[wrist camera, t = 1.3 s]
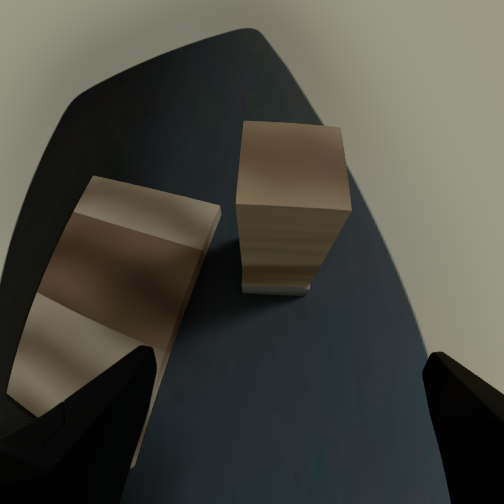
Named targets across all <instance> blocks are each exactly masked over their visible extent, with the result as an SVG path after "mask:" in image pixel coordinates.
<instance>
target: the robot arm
mask: <svg viewBox="0 0 504 504" xmlns="http://www.w3.org/2000/svg"><path fill="white" fill-rule="evenodd" d="M156 374H157V362H156V358H155V353H154V349H153V347H151V346H146V345H139V346H138V347H136V348H135V349H134V350H132V351H131V352H130V353H128V354H127V355H125V356H124V357H123V358H121V359H120V360H119V361H117V362H116V363H114V364H113V365H112V366H110V367H109V368H108V369H106V370H105V371H103V372H102V373H101V374H99V375H98V376H97V377H95V378H94V379H92V380H91V381H90V382H88V383H87V384H86V385H84V386H83V387H81V388H80V389H79V390H77V391H76V392H74V393H73V394H72V395H70V396H69V397H68V398H66V399H65V400H64V402H63V401H62V402H60V403H59V404H58V405H56V406H55V407H53V408H52V409H51V410H49V411H48V412H46V413H45V414H43V415H42V416H40V417H38V418H37V419H35V420H33V421H31V422H30V423H28V424H26V425H24V426H23V427H21V428H19V429H17V430H15V431H14V432H12V433H10V434H8V435H6V436H4V437H2V438H0V504H119V503H120V499H121V496H122V493H123V489H124V486H125V483H126V480H127V476H128V473H129V470H130V467H131V464H132V460H133V457H134V454H135V451H136V448H137V445H138V442H139V439H140V436H141V433H142V430H143V427H144V424H145V421H146V418H147V415H148V411H149V407H150V402H151V397H152V393H153V388H154V383H155V379H156ZM422 377H423V382H424V387H425V392H426V397H427V402H428V408H429V412H430V416H431V420H432V424H433V427H434V431H435V435H436V438H437V442H438V446H439V450H440V454H441V458H442V462H443V467H444V471H445V476H446V481H447V485H448V490H449V496H450V501H451V504H504V394H502V393H501V392H499V391H498V390H497V389H495V388H494V387H492V386H491V385H490V384H488V383H487V382H485V381H484V380H482V379H481V378H480V377H478V376H477V375H475V374H474V373H472V372H471V371H470V370H468V369H467V368H465V367H464V366H462V365H461V364H460V363H458V362H457V361H455V360H454V359H452V358H451V357H449V356H448V355H447V354H445V353H444V352H433V353H431V354H430V356H429V358H428V360H427V362H426V365H425V367H424V369H423V373H422Z"/></svg>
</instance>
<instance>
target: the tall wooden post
mask: <svg viewBox="0 0 504 504" xmlns="http://www.w3.org/2000/svg"><path fill="white" fill-rule="evenodd" d="M236 211H237V221H238V231H239V241H240V251H241V260H242V270H243V275H242V292H243V293H246V294H267V295H291V296H306V295H307V293H308V291H309V290H310V283H311V281H312V279H313V278H314V276H315V274H316V273H317V271H318V269H319V267H320V266H321V264H322V262H323V261H324V259H325V257H326V255H327V254H328V252H329V250H330V249H331V247H332V245H333V243H334V242H335V240H336V238H337V236H338V234H339V233H340V231H341V229H342V227H343V226H344V224H345V222H346V220H347V218H348V216H349V215H350V213H351V211H352V209H351V200H350V191H349V183H348V175H347V168H346V161H345V154H344V147H343V141H342V135H341V129H340V128H338V127H329V126H328V127H327V126H319V125H307V124H295V123H279V122H258V121H244V123H243V133H242V143H241V153H240V164H239V174H238V185H237V196H236Z"/></svg>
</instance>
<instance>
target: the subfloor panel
mask: <svg viewBox="0 0 504 504" xmlns="http://www.w3.org/2000/svg"><path fill="white" fill-rule="evenodd" d="M220 217H221V210H220V206H219V205H215V204H211V203H207V202H203V201H199V200H195V199H191V198H187V197H183V196H179V195H175V194H171V193H167V192H162V191H158V190H154V189H150V188H145V187H141V186H137V185H132V184H128V183H124V182H119V181H115V180H110V179H106V178H101V177H97V176H93V177H92V179H91V181H90V183H89V184H88V186H87V188H86V190H85V191H84V193H83V195H82V197H81V199H80V200H79V202H78V204H77V206H76V208H75V210H74V212H73V214H72V216H71V218H70V219H69V221H68V223H67V225H66V227H65V229H64V232H63V234H62V236H61V238H60V240H59V242H58V244H57V246H56V248H55V251H54V253H53V255H52V257H51V260H50V262H49V264H48V266H47V269H46V271H45V274H44V276H43V278H42V281H41V283H40V286H39V288H38V291H37V294H36V296H35V299H34V302H33V304H32V307H31V310H30V313H29V316H28V318H27V321H26V324H25V327H24V331H23V334H22V337H21V340H20V343H19V347H18V350H17V354H16V357H15V361H14V365H13V368H12V372H11V376H10V381H9V385H8V389H7V394H8V395H9V396H11V397H12V398H13V399H14V400H16V401H17V402H18V403H19V404H21V405H22V406H23V407H25V408H26V409H27V410H29V411H30V412H31V413H33V414H34V415H35V416H37V417H40V416H42V415H43V414H45V413H46V412H48V411H49V410H51V409H52V408H53V407H55V406H56V405H58V404H59V403H60V402H62V401H63V402H64V400H65V399H66V398H68V397H69V396H70V395H72V394H73V393H74V392H76V391H77V390H79V389H80V388H81V387H83V386H84V385H86V384H87V383H88V382H90V381H91V380H92V379H94V378H95V377H97V376H98V375H99V374H101V373H102V372H103V371H105V370H106V369H108V368H109V367H110V366H112V365H113V364H114V363H116V362H117V361H119V360H120V359H121V358H123V357H124V356H125V355H127V354H128V353H130V352H131V351H132V350H134V349H135V348H136V347H138V346H139V345H146V346H151V347H153V349H154V353H155V358H156V362H157V374H156V379H155V383H154V388H153V393H152V397H151V402H150V407H149V411H148V415H147V418H146V421H145V424H144V427H143V430H142V433H141V436H140V439H139V442H138V445H137V448H136V451H135V454H134V457H133V460H132V464H131V467H130V469H131V468H132V467H134V466H135V463H136V460H137V456H138V453H139V450H140V446H141V443H142V440H143V436H144V433H145V430H146V427H147V423H148V420H149V417H150V414H151V411H152V407H153V404H154V401H155V398H156V395H157V392H158V389H159V386H160V383H161V380H162V377H163V374H164V371H165V368H166V365H167V362H168V359H169V356H170V353H171V350H172V347H173V344H174V341H175V338H176V336H177V333H178V330H179V327H180V324H181V321H182V318H183V316H184V313H185V310H186V307H187V304H188V302H189V299H190V296H191V293H192V291H193V288H194V285H195V283H196V280H197V277H198V274H199V272H200V269H201V266H202V264H203V261H204V258H205V256H206V253H207V251H208V248H209V245H210V243H211V240H212V237H213V235H214V232H215V230H216V227H217V225H218V222H219V220H220Z"/></svg>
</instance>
